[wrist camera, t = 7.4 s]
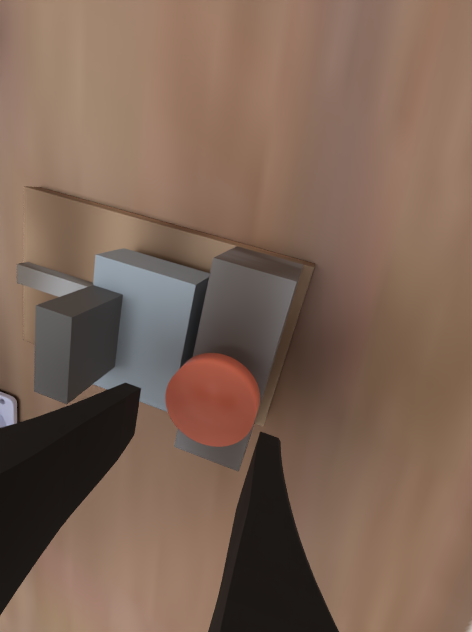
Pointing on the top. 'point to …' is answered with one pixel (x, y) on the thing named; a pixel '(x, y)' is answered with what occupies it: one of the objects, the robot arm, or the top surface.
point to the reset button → (213, 399)
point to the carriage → (120, 328)
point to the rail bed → (184, 249)
